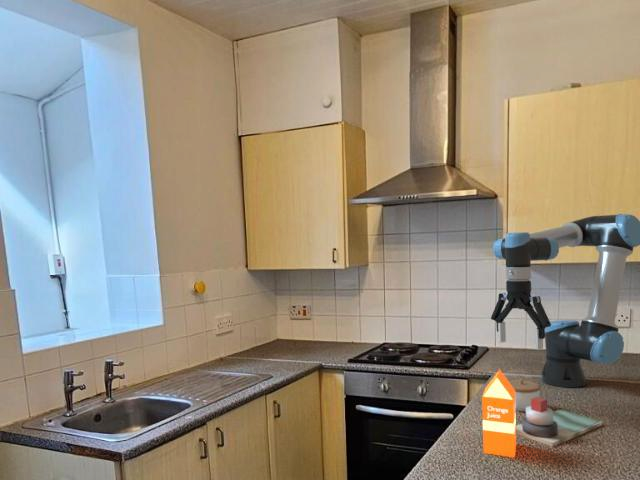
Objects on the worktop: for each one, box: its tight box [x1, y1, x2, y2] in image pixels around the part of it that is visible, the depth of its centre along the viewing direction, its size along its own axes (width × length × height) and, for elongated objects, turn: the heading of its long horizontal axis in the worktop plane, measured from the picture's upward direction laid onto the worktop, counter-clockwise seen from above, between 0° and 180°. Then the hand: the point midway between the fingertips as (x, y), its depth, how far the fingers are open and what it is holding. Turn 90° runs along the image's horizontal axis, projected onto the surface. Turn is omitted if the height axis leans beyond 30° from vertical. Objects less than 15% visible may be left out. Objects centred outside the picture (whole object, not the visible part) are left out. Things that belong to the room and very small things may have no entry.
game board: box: [516, 409, 603, 448], centre depth 141 cm, size 25×13×4 cm, turn 123°
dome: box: [525, 396, 554, 425], centre depth 137 cm, size 7×7×6 cm
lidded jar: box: [508, 378, 541, 412], centre depth 158 cm, size 11×11×9 cm
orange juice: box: [481, 368, 517, 458], centre depth 129 cm, size 8×9×20 cm
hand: (520, 345), depth 158 cm, fingers open, 13 cm apart
